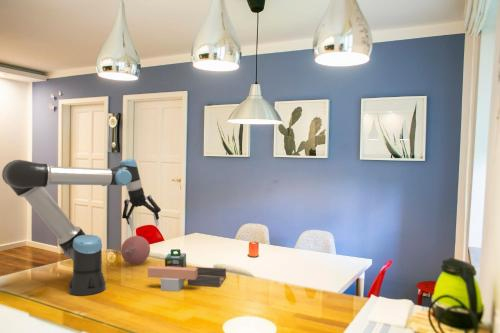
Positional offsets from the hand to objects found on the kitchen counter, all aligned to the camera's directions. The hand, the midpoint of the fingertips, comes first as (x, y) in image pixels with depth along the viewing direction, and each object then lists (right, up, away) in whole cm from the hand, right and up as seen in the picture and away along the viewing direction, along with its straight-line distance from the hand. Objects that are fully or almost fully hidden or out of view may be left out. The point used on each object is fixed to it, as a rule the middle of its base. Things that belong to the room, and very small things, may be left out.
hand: (145, 227), depth 204 cm
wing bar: (+20, -18, -27) cm, 38 cm away
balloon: (-9, -22, +11) cm, 26 cm away
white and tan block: (+19, -23, -27) cm, 40 cm away
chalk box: (+18, -23, -14) cm, 32 cm away
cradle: (+34, -23, -17) cm, 44 cm away
